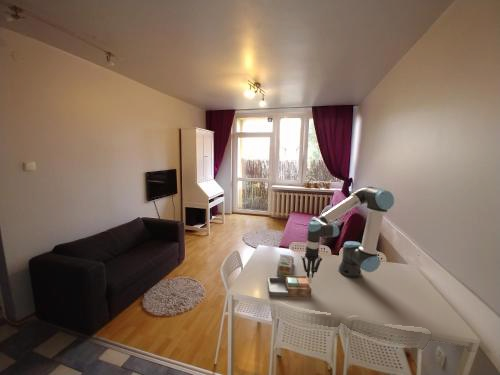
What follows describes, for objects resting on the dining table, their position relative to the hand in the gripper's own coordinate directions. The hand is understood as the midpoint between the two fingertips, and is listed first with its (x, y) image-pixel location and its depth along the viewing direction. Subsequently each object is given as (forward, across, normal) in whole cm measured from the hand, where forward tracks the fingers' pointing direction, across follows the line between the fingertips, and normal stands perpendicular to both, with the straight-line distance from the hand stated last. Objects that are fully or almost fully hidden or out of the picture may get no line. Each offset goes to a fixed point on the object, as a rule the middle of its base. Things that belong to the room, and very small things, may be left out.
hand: (309, 281), depth 142 cm
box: (+5, +20, 0) cm, 21 cm away
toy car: (+6, +12, -22) cm, 26 cm away
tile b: (+1, +11, 0) cm, 11 cm away
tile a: (+1, +4, 0) cm, 5 cm away
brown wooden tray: (+5, +8, 0) cm, 9 cm away
